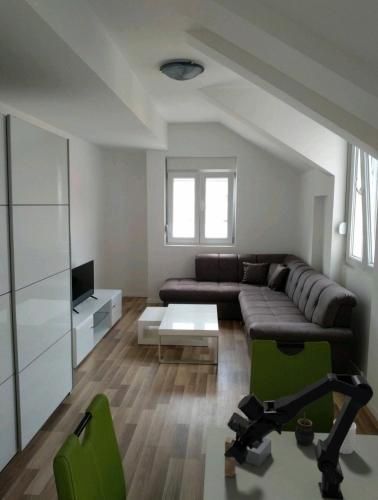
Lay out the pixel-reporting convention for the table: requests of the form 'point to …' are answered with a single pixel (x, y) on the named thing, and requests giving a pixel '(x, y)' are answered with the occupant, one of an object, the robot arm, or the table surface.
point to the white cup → (349, 440)
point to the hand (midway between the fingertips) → (226, 452)
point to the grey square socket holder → (259, 452)
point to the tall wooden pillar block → (229, 459)
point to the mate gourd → (304, 431)
